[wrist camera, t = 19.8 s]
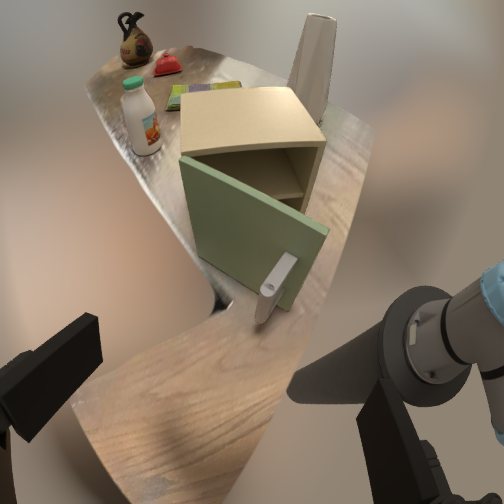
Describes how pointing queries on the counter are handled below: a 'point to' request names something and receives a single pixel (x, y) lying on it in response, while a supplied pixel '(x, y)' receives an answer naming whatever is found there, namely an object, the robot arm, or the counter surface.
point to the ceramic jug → (134, 42)
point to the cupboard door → (250, 235)
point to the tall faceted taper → (314, 64)
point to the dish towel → (177, 90)
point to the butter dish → (167, 65)
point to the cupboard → (255, 139)
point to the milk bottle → (140, 118)
